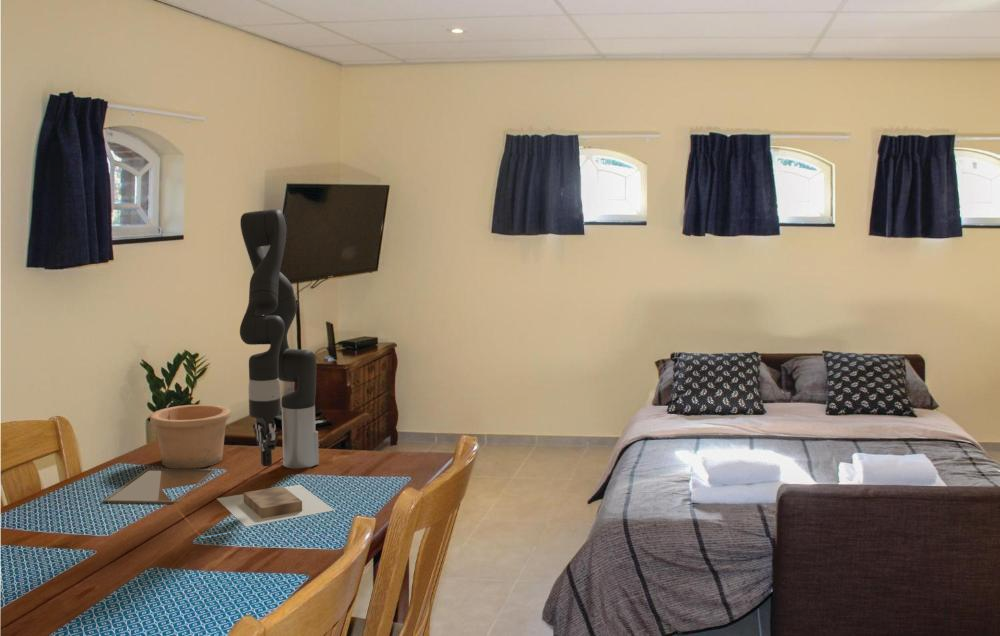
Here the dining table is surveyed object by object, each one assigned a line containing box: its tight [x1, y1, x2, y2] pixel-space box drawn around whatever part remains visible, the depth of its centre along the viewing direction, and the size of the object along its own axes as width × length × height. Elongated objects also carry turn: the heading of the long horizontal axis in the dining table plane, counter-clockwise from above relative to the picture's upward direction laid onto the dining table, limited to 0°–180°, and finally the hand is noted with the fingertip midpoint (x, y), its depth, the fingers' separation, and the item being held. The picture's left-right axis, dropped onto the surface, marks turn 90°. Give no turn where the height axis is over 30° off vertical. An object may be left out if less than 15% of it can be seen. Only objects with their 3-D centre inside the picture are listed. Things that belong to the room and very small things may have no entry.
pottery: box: [149, 403, 231, 469], centre depth 273 cm, size 22×22×14 cm
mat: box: [216, 484, 335, 528], centre depth 235 cm, size 22×24×1 cm
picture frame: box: [101, 468, 216, 505], centre depth 251 cm, size 19×1×28 cm
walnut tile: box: [243, 485, 302, 518], centre depth 233 cm, size 10×2×14 cm
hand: (266, 465), depth 234 cm, fingers closed
